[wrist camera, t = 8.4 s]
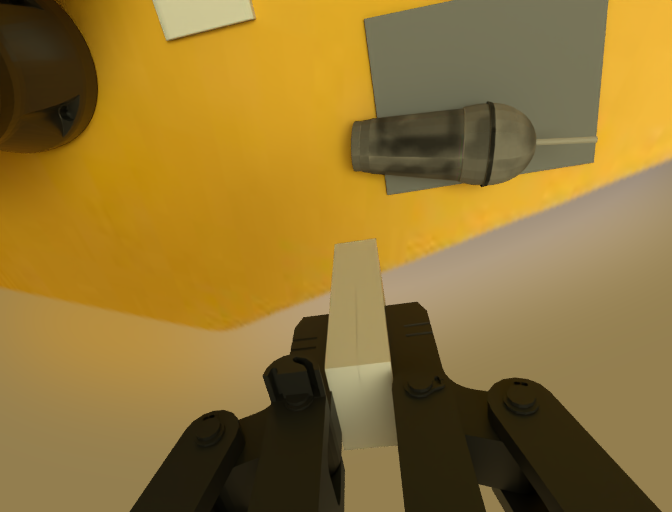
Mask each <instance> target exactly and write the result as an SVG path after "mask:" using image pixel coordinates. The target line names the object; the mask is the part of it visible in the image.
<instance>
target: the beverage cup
mask: <svg viewBox="0 0 672 512" xmlns="http://www.w3.org/2000/svg"><path fill="white" fill-rule="evenodd" d="M597 139H598V138H597V136H595V137H573V138H552V139H536V133H535V129H534V127H533V125H532V123H531V121H530V120H529V119H528V117H527V116H526V115H525V114H523V113H522V112H521V111H519V110H517V109H516V108H514V107H511V106H509V105H505V104H500V103H492V102H489V101H487V103H485V104H475V105H470V106H466V107H463V108H462V109H453V110H444V111H435V112H427V113H418V114H409V115H400V116H391V117H382V118H373V119H370V120H363V121H355V122H354V124H353V128H352V137H351V156H352V165H353V169H354V171H362V172H367V173H372V174H382V175H394V176H406V177H418V178H430V179H442V180H453V181H459V182H460V183H466V184H471V185H480V186H481V187H484V186H487V185H494V184H499V183H503V182H506V181H508V180H510V179H512V178H514V177H516V176H517V175H519V174H520V173H521V172H522V171H523V170H524V169H525V168H526V167H527V166H528V164H529V163H530V161H531V160H532V158H533V156H534V153H535V149H536V145H555V144H577V143H597Z"/></svg>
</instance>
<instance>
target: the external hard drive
mask: <svg viewBox="0 0 672 512" xmlns="http://www.w3.org/2000/svg"><path fill="white" fill-rule="evenodd" d="M152 1H153V4H154V6H155V9H156V12H157V15H158V18H159V21H160V24H161V27H162V29H163V32H164V35H165V38H166V40H167V41H168V40H169V41H170V40H174V39H178V38H182V37H186V36H190V35H194V34H198V33H202V32H206V31H210V30H214V29H218V28H222V27H226V26H230V25H234V24H238V23H242V22H246V21H250V20H254V19H256V16H255V12H254V8H253V4H252V0H152Z"/></svg>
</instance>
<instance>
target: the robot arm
mask: <svg viewBox="0 0 672 512" xmlns="http://www.w3.org/2000/svg"><path fill="white" fill-rule="evenodd" d="M96 99H97V78H96V72H95V67H94V63H93V60H92V57H91V54H90V51H89V49H88V47H87V44H86V42H85V40H84V38H83V36H82V35H81V33H80V31H79V30H78V28H77V27H76V25H75V24H74V22H73V21H72V20H71V18H70V17H69V16H68V15H67V13H66V12H65V11H64V10H63V9H62V8H61V7H60V6H59V5H58V4H57V3H56V2H55V1H54V0H0V151H7V152H16V153H36V152H42V151H47V150H50V149H53V148H55V147H58V146H61V145H64V144H66V143H68V142H70V141H72V140H73V139H75V138H76V137H77V136H78V135H80V134H81V133H82V131H83V130H84V129H85V128H86V126H87V125H88V123H89V122H90V120H91V118H92V115H93V112H94V109H95V105H96ZM263 379H264V381H265V385H266V388H267V391H268V394H269V397H270V400H271V405H270V406H269V407H267V408H266V409H264V410H262V411H260V412H258V413H256V414H253V415H251V416H248V417H245V418H242V419H240V420H238V418H237V417H236V416H235V415H234V414H233V413H232V412H228V411H225V410H220V411H212V412H209V413H207V414H204V415H202V416H201V417H199V418H198V419H196V420H195V421H193V422H192V423H191V425H190V426H189V427H188V428H187V429H186V430H185V431H184V433H183V434H182V436H181V437H180V439H179V440H178V442H177V443H176V445H175V446H174V448H173V449H172V450H171V452H170V453H169V455H168V456H167V458H166V459H165V461H164V462H163V464H162V465H161V467H160V468H159V470H158V471H157V472H156V474H155V475H154V477H153V478H152V480H151V481H150V483H149V484H148V486H147V487H146V488H145V490H144V491H143V493H142V494H141V496H140V497H139V499H138V501H137V502H136V503H135V505H134V506H133V508H132V509H131V510H130V512H344V488H345V482H344V481H345V469H344V464H343V460H342V456H341V449H342V442H343V446H344V450H353V449H364V448H374V447H385V446H397V445H398V452H399V461H400V470H401V479H402V488H403V497H404V507H405V512H486V510H485V506H484V503H483V499H482V496H481V492H480V488H479V485H478V484H480V485H485V486H489V487H492V490H493V492H494V494H495V495H496V497H497V499H498V500H499V502H500V504H501V505H502V507H503V509H504V511H505V512H661V511H660V509H659V508H657V506H656V505H655V504H654V503H653V502H652V501H651V500H650V499H649V498H648V497H647V496H646V494H645V493H644V492H643V491H642V490H641V489H640V488H639V487H638V486H637V485H636V484H635V483H634V482H633V481H632V479H631V478H630V477H629V476H628V475H627V474H626V473H625V472H624V471H623V470H622V469H621V468H620V466H619V465H618V464H617V463H616V462H615V461H614V460H613V459H612V458H611V457H610V456H609V455H608V454H607V453H606V451H605V450H604V449H603V448H602V447H601V446H600V445H599V444H598V443H597V442H596V441H595V440H594V439H593V437H592V436H591V435H590V434H589V433H588V432H587V431H586V430H585V429H584V428H583V427H582V426H581V425H580V424H579V422H577V420H576V419H575V418H574V417H573V416H572V415H571V414H570V413H569V412H568V411H567V410H566V409H565V407H564V406H563V405H562V404H561V403H560V402H559V401H558V400H557V399H556V398H555V397H554V396H553V394H552V393H551V392H550V391H548V390H547V389H546V388H544V387H543V386H542V385H541V384H539V383H536V382H534V381H531V380H529V379H522V378H509V379H503V380H501V381H499V382H497V383H495V384H494V385H493V386H492V387H491V389H490V390H489V391H480V390H474V389H470V388H465V387H463V386H460V385H458V384H456V383H455V382H453V381H452V380H450V379H449V378H448V376H447V375H446V374H445V372H444V370H443V368H442V364H441V361H440V358H439V354H438V350H437V346H436V343H435V339H434V335H433V332H432V328H431V325H430V321H429V317H428V313H427V310H425V309H424V308H423V307H422V306H421V305H420V304H419V303H418V302H412V303H404V304H396V305H388V306H386V305H385V298H384V291H383V284H382V277H381V270H380V264H379V257H378V250H377V243H376V238H375V239H368V240H361V241H354V242H347V243H340V244H335V249H334V261H333V273H332V285H331V298H330V311H329V314H326V315H318V316H311V317H303V319H302V320H301V321H300V322H299V324H298V325H297V326H296V328H295V330H294V335H293V342H292V346H291V352H290V355H287V356H283V357H281V358H279V359H277V360H276V361H274V362H273V363H272V364H271V365H270V366H269V367H268V368H267V369H266V371H265V372H264V374H263Z"/></svg>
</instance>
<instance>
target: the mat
mask: <svg viewBox="0 0 672 512" xmlns="http://www.w3.org/2000/svg"><path fill="white" fill-rule="evenodd" d="M607 9H608V0H453V1H448V2H444V3H439V4H434V5H429V6H424V7H420V8H415V9H410V10H405V11H400V12H396V13H391V14H386V15H381V16H376V17H372V18H367V19H364V22H365V30H366V37H367V45H368V52H369V60H370V67H371V75H372V82H373V90H374V97H375V105H376V112H377V118H382V117H391V116H400V115H409V114H418V113H427V112H435V111H444V110H453V109H462V108H463V107H466V106H470V105H475V104H485V103H487V101H489V102H492V103H500V104H505V105H509V106H511V107H514V108H516V109H517V110H519V111H521V112H522V113H523V114H525V115H526V116H527V117H528V119H529V120H530V121H531V123H532V125H533V127H534V129H535V133H536V139H552V138H573V137H595V136H596V132H597V121H598V109H599V98H600V87H601V76H602V65H603V53H604V42H605V31H606V20H607ZM594 154H595V143H577V144H555V145H536V149H535V153H534V156H533V158H532V160H531V161H530V163H529V164H528V166H527V167H526V168H525V169H524V170H523V171H522V172H521V173H520V174H524V173H530V172H537V171H543V170H549V169H556V168H562V167H568V166H574V165H581V164H587V163H593V162H594ZM385 180H386V187H387V194H388V195H392V194H398V193H404V192H411V191H417V190H423V189H430V188H436V187H442V186H449V185H455V184H461V183H460V182H459V181H453V180H442V179H430V178H418V177H406V176H394V175H385Z"/></svg>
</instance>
